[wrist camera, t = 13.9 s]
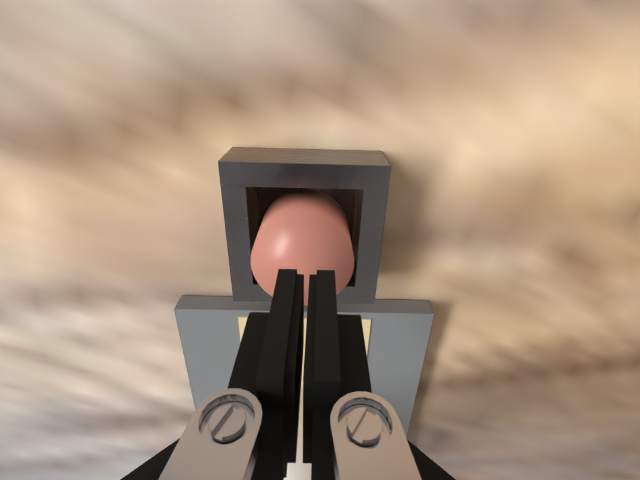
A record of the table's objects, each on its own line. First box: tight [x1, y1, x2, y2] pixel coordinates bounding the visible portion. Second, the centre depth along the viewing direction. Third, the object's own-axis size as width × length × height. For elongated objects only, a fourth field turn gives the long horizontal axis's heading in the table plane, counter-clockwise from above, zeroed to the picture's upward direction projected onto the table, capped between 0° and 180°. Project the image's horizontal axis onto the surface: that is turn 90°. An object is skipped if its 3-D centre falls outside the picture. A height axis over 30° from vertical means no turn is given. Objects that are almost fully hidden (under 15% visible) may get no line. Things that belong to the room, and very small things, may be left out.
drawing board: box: [174, 296, 434, 437], centre depth 23 cm, size 16×14×1 cm
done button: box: [251, 189, 354, 305], centre depth 15 cm, size 4×4×3 cm
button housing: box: [218, 147, 391, 304], centre depth 16 cm, size 7×7×2 cm
